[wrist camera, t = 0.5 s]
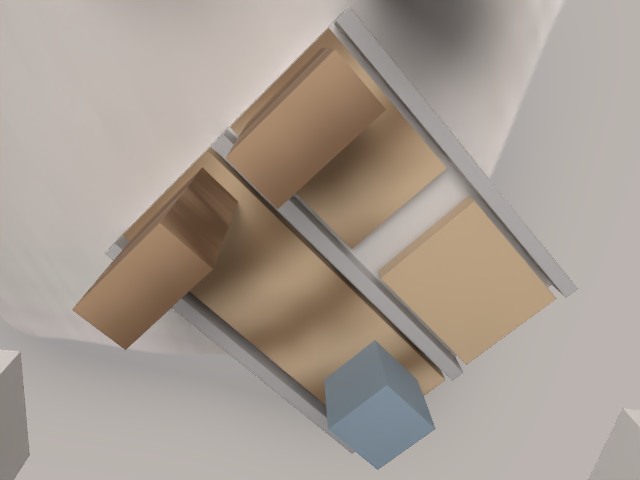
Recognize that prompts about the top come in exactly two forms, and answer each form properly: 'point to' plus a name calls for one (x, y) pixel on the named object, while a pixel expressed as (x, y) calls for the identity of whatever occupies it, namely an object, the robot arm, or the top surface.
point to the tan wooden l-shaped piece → (243, 281)
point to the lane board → (412, 250)
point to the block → (376, 406)
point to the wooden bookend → (332, 143)
